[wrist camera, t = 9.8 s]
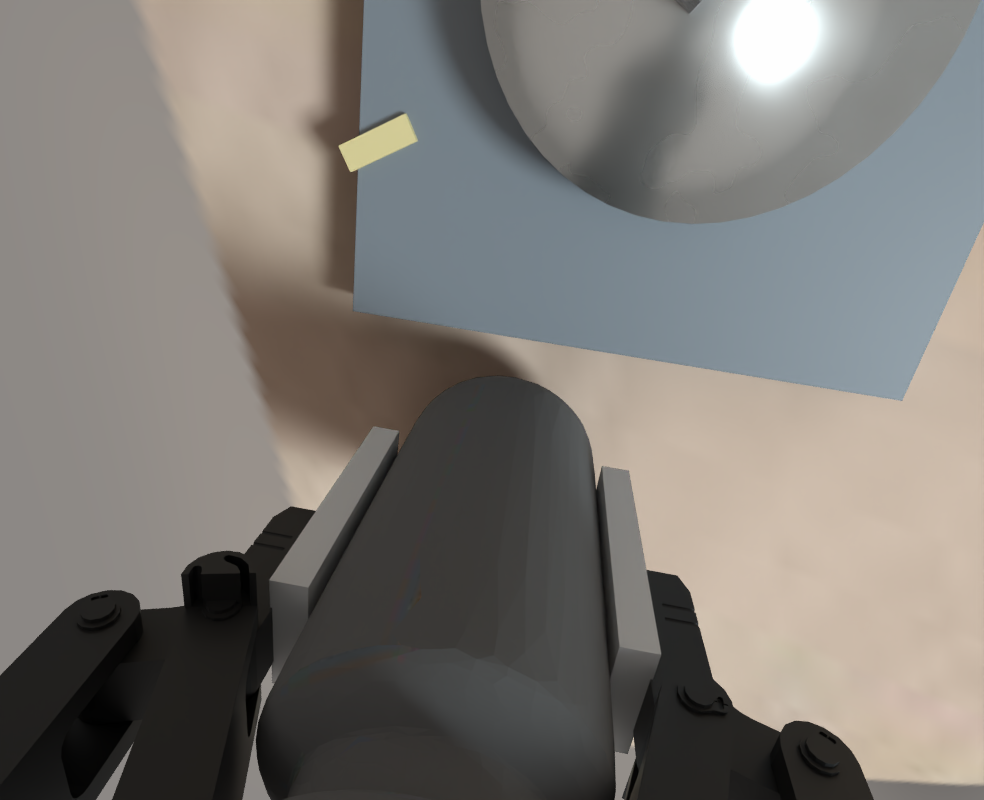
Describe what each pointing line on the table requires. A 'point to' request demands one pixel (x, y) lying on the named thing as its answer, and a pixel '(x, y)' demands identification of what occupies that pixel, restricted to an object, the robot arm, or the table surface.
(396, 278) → the board
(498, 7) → the dial
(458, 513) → the bottle
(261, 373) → the table surface
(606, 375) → the table surface
